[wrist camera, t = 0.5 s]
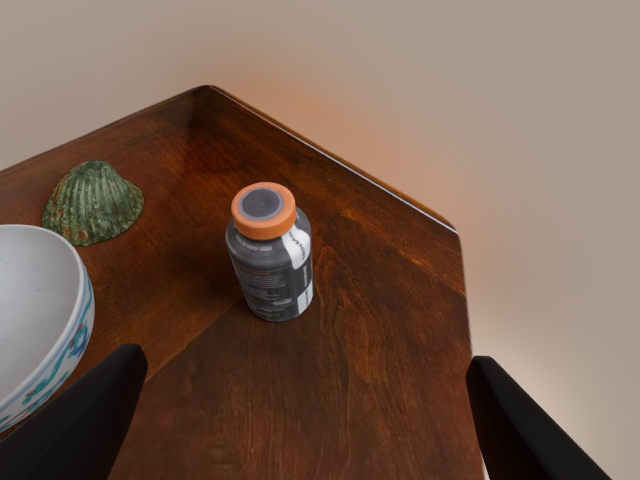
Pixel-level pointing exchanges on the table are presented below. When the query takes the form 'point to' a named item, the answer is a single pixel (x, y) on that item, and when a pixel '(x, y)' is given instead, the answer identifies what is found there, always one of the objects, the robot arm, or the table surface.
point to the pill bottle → (271, 251)
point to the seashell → (92, 204)
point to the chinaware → (39, 317)
